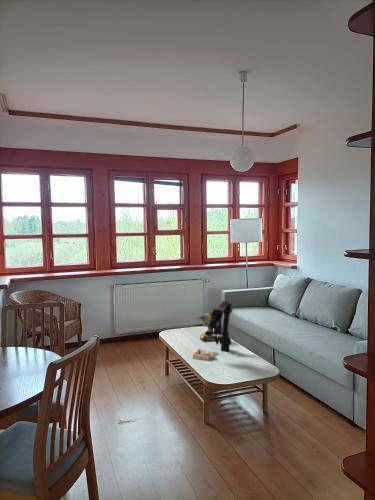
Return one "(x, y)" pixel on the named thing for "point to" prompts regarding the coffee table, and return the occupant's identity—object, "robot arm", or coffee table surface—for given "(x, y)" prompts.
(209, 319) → the cordless drill
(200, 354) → the t block
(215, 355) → the slate mat
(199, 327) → the coffee table surface
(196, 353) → the block
